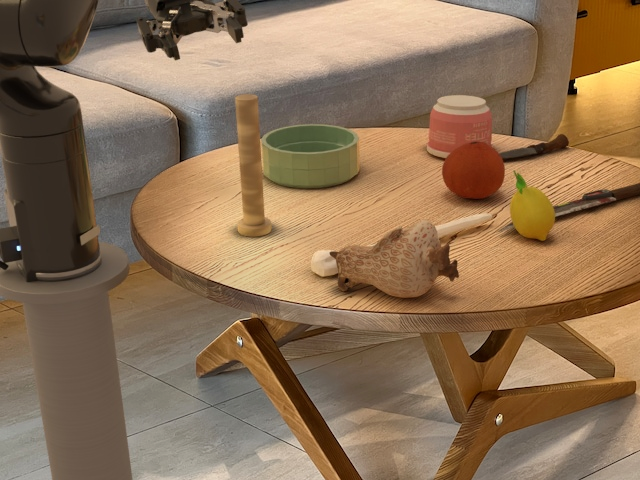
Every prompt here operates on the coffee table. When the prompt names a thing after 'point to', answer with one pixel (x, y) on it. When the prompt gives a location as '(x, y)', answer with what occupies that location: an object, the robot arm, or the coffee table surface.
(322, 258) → the cream knobbed rod
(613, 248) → the coffee table surface
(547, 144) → the knife
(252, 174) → the stick
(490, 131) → the container
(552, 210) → the lemon
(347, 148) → the bowl
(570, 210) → the knife
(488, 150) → the fruit
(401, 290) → the figurine
